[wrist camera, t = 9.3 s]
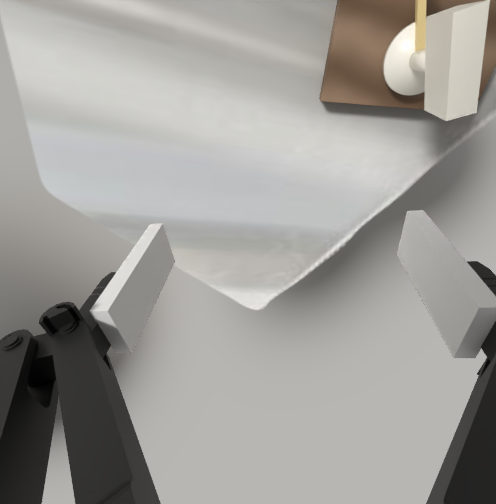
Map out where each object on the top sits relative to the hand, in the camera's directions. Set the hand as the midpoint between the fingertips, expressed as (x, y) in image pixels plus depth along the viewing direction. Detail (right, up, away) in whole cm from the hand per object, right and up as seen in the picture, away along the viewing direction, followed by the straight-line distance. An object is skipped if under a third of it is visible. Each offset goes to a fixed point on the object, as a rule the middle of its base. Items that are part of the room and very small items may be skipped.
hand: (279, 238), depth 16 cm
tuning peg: (+16, +23, +15) cm, 32 cm away
